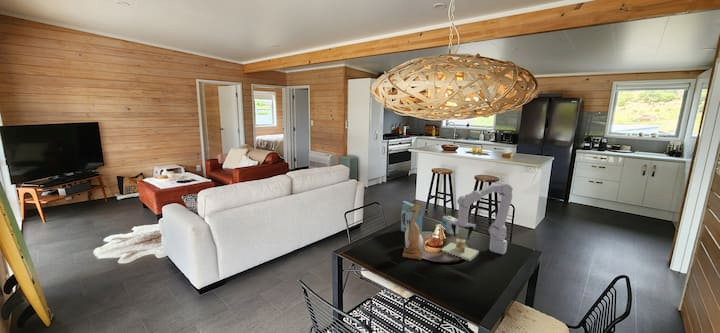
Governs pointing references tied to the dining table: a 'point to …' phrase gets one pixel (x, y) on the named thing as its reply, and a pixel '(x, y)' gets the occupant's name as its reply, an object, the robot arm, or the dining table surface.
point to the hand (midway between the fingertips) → (461, 237)
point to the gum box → (410, 216)
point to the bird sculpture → (413, 236)
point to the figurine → (409, 242)
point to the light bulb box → (447, 225)
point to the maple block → (460, 245)
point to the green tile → (466, 255)
